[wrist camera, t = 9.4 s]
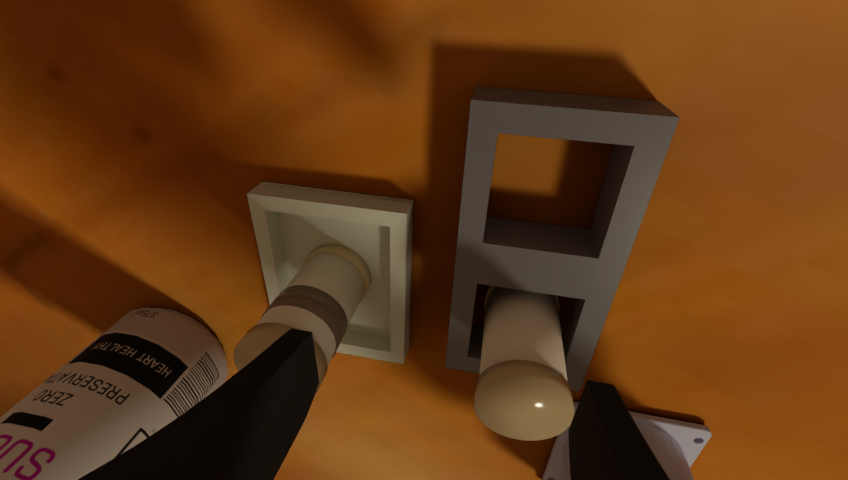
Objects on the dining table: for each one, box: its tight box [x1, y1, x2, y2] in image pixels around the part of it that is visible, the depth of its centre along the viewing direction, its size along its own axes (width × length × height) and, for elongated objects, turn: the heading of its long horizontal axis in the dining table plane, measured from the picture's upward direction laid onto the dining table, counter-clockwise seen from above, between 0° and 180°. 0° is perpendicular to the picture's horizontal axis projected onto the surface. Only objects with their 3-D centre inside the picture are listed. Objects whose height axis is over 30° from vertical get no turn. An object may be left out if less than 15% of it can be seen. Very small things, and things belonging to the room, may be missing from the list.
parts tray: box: [247, 182, 414, 364], centre depth 23 cm, size 10×8×2 cm
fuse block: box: [445, 86, 680, 391], centre depth 19 cm, size 14×7×2 cm, turn 178°
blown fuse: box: [234, 244, 371, 394], centre depth 20 cm, size 4×4×7 cm
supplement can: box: [0, 308, 228, 480], centre depth 23 cm, size 8×8×15 cm
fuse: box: [474, 285, 574, 441], centre depth 19 cm, size 4×4×7 cm
